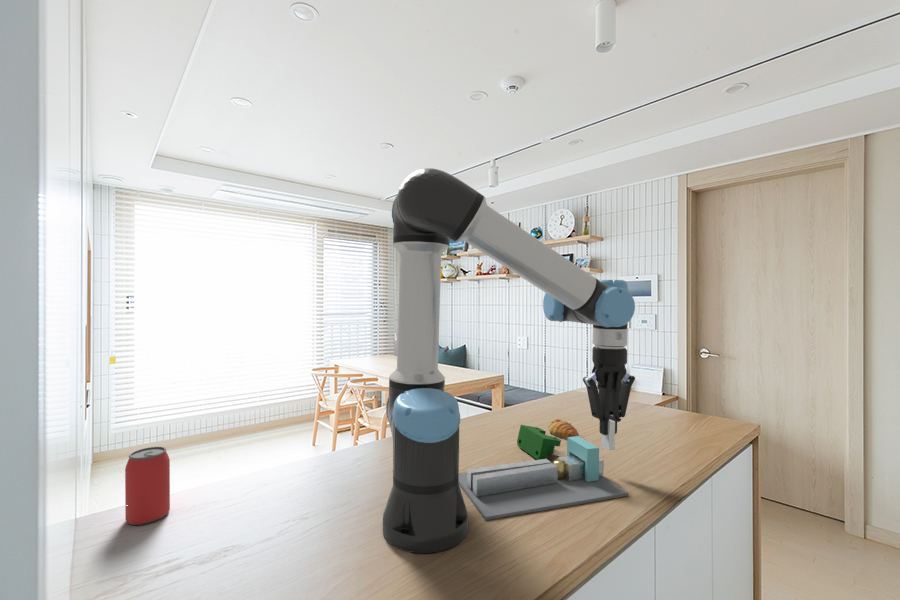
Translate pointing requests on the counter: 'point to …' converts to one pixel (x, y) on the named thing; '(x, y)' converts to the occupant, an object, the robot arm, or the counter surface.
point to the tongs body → (566, 465)
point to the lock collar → (585, 456)
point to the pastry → (562, 429)
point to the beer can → (147, 485)
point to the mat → (541, 496)
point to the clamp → (536, 442)
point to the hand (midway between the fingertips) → (607, 447)
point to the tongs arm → (514, 479)
